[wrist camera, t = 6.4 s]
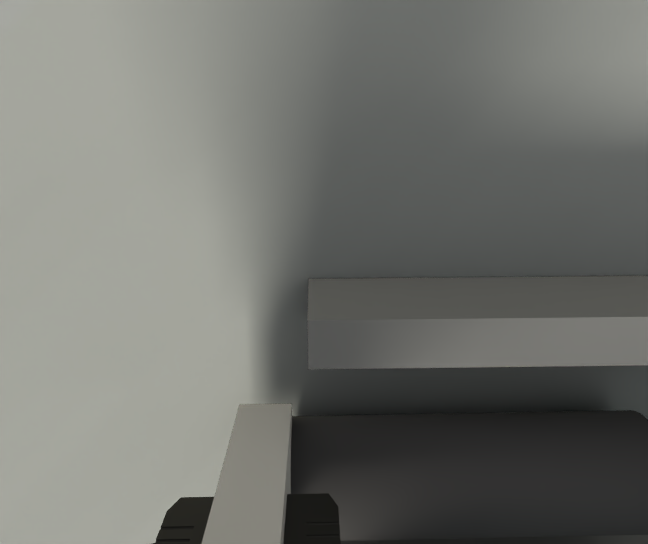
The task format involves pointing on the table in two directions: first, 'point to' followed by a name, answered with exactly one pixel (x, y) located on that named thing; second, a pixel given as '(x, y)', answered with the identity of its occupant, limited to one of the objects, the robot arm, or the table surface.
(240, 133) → the table surface
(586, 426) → the cylinder
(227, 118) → the table surface
